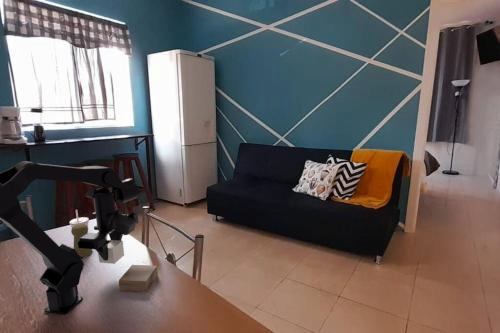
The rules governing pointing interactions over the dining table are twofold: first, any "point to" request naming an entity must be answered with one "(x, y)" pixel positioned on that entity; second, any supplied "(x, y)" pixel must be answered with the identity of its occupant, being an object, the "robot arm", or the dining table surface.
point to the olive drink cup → (78, 233)
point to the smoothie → (79, 221)
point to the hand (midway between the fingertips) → (111, 255)
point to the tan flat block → (138, 278)
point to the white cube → (113, 252)
